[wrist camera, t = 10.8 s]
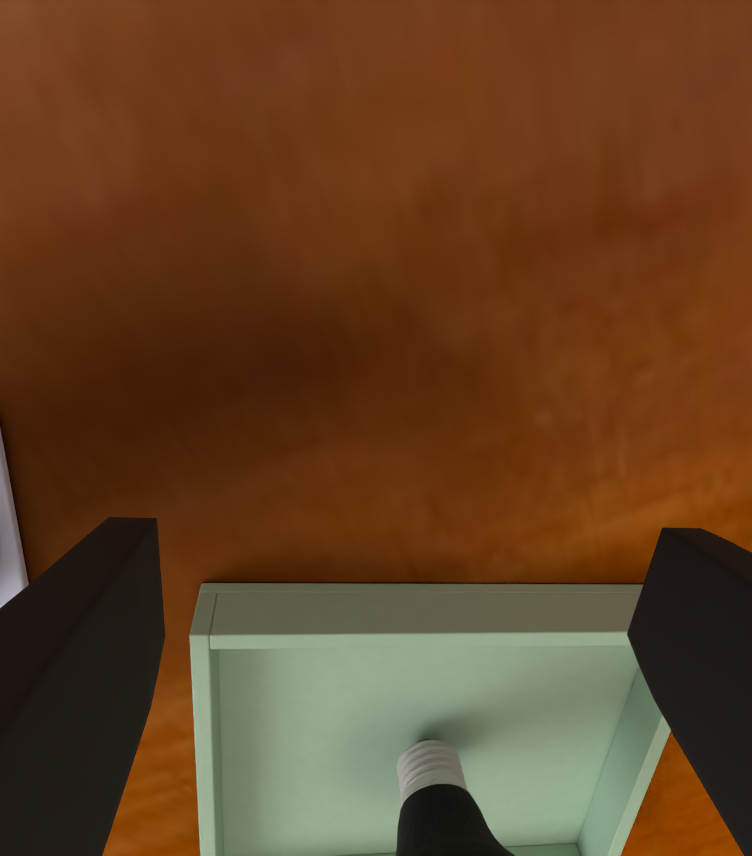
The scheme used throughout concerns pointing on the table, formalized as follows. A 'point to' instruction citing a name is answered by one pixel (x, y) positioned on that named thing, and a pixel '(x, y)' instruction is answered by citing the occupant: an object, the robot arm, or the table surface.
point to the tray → (418, 712)
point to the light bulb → (439, 806)
